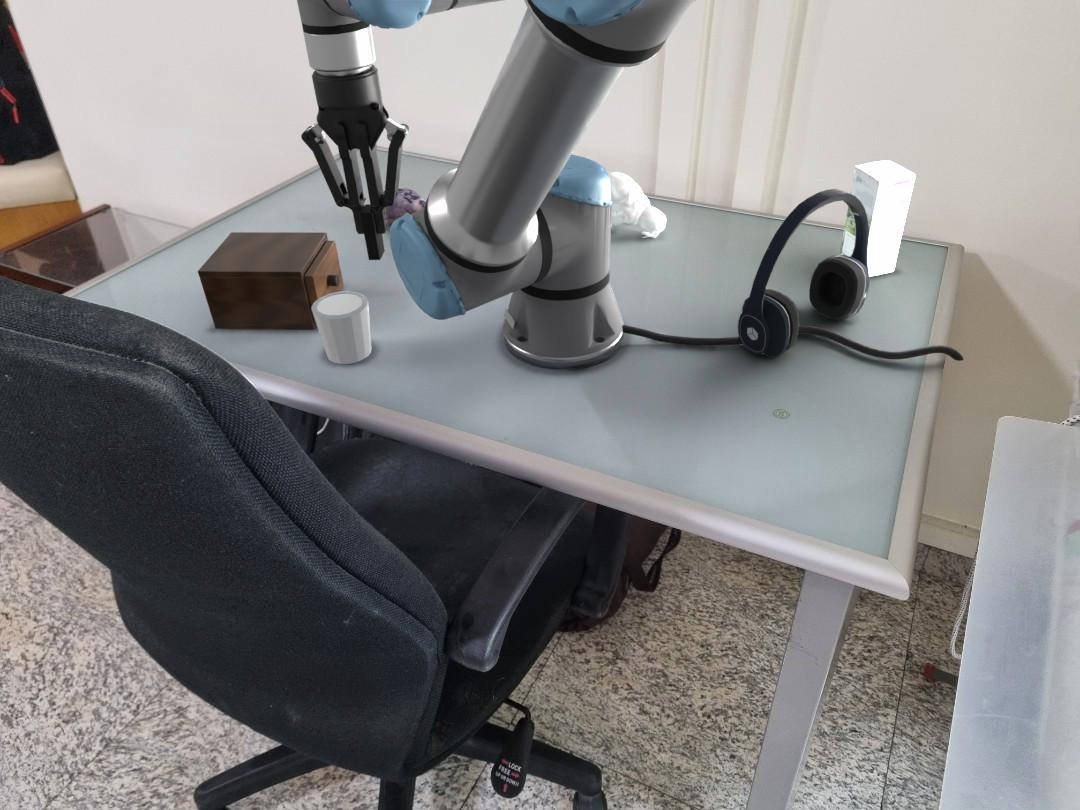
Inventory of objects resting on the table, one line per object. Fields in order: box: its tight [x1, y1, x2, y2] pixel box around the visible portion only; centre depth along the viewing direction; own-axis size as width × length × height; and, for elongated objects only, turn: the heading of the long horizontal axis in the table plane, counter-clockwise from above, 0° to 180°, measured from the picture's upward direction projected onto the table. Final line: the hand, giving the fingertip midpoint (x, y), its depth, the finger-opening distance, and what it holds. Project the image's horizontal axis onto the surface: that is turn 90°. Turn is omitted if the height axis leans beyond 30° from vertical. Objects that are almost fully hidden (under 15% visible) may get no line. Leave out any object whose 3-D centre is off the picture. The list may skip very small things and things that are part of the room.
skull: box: [383, 187, 426, 228], centre depth 135 cm, size 12×8×6 cm, turn 54°
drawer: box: [304, 240, 344, 322], centre depth 114 cm, size 14×10×7 cm
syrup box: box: [838, 159, 916, 278], centre depth 116 cm, size 6×6×14 cm
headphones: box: [737, 188, 870, 358], centre depth 101 cm, size 20×7×18 cm, turn 127°
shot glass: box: [311, 290, 373, 365], centre depth 104 cm, size 7×7×7 cm
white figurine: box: [608, 171, 667, 239], centre depth 130 cm, size 6×8×12 cm
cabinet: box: [197, 231, 329, 331], centre depth 114 cm, size 14×12×9 cm
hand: (376, 255), depth 110 cm, fingers closed
